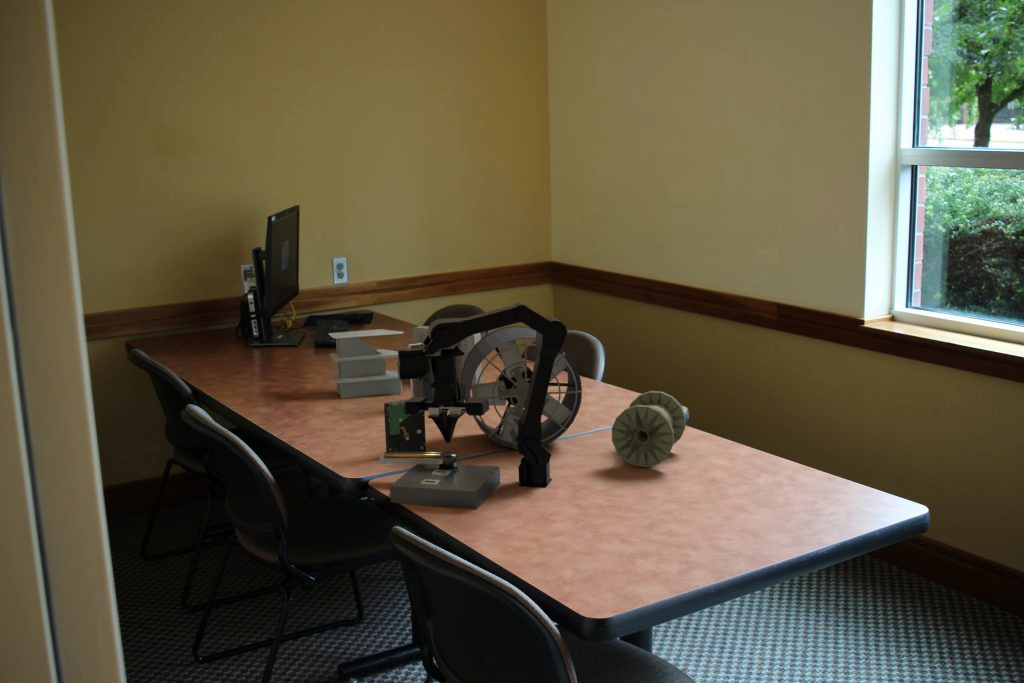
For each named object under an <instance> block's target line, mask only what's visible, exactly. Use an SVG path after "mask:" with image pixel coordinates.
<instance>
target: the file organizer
mask: <svg viewBox="0 0 1024 683" xmlns="http://www.w3.org/2000/svg"><path fill="white" fill-rule="evenodd" d="M404 333H405V331H400V330H399V331H398V330H390V329H384V328H383V329H381V328H379V329H368V330H365V329H364V330H355V331H344V332H343V331H341V332H329V333H327V335H329V336H330V337H331V338H333V339H335V346H336V352H335V353H333V352H332V353H329V357H330V359H331V360H332V361H334V362H336V363H337V372H338V373H333V374H330V378H331V379H332V380H333V381H334V382H335V383H336V391H337V394H338V395H339V397H340V398H341V399H349V398H350V399H351V398H358V397H369V396H379V395H402V394H403V385H402V384H403V380H399V377H398V371H396V370H395V371H394V370H387V366H386V365H387V364H386V359H388V358H389V359H390V358H398V350H390V349H383V348H381V349H375V348H374V347H373V346H372V345H370V344H368V343H367V342H365V341H363V340H362V339H360V338H359V337H374V336H385V335H387V336H388V335H402V334H404Z"/></svg>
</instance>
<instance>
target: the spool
mask: <svg viewBox="0 0 1024 683" xmlns="http://www.w3.org/2000/svg"><path fill="white" fill-rule="evenodd" d="M686 417H687V416H686V413H685V411H684V409H683V406H682V404H681V403H680V402H679V401H678V400H677V399H676V398H675V397H674V396H673V395H672V394H671V395H670V394H669V393H666V392H664V391H657V390H649V391H647V392H644V393H641V394H638V396H637V397H636V398H634V399H633V401H632V402H631V403H630V405H629V407H627V408H625V409H624V410H623V411H622V412H621V413H620V414H619V415H618V416H617V417H616V418H615V420H614V422H613V424H612V428H611V441H612V444H613V446H614V448H615V451H616V453H617V454H618V455H619V456H620V457H621V458H622V459H623V460H624V461H625V462H626V463H629V464H631V465H633V466H634V467H643V468H650V467H652V466H656V465H659V464H660V463H661V462H663V461H664V460H665V459H667V458H668V457H669V455H670V453H671V451H672V449H673V446H674V445H675V444H676V443H677V442H678V441H679V440H681V439H682V436H683V434H684V431H685V430H686V422H687V421H686Z"/></svg>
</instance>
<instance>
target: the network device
mask: <svg viewBox="0 0 1024 683" xmlns="http://www.w3.org/2000/svg"><path fill="white" fill-rule="evenodd" d="M429 326H430V325H427V326H426V325H419V326H417V327H416V326H415V327H413V328H412V330H411V344H417V343H423V342H424V340H425V339H426V337H427V335H428V327H429ZM481 339H482V335H481V333H478V334H474V335H471V336H469V337H467V338H466V339H464V340H462V341H461V346H462V351H463V352H464V353H465V354H464V355H463V356H462V369H463V365H464V362H465V360H466V358H467V356H468V354H469V352H470V351H471V350H472V348H473V347H474V346H475V344H476V343H477V342H479V341H480V340H481ZM482 370H483V361H482V362H481V363H480V365H479V366H478V368H477V370H476V372H475V374H474V376H473V380H472V383H471V388H472V385H475V384H477V381H478V378H479V376H480V374H481V372H482ZM482 383H483V375H482V376H481V378H480V380H479V384H482Z"/></svg>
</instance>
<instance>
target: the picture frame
mask: <svg viewBox="0 0 1024 683" xmlns="http://www.w3.org/2000/svg"><path fill="white" fill-rule="evenodd" d="M421 345H422V343H417V344H412V343H410V344H408V345H407V346H408V349H419V348H420V346H421ZM453 346H454V345H452V346H450V347H448V348H452V347H453ZM457 346H458V347H459V348H460V349H461V350H462V346H461V342H459V343H457ZM441 349H445V348H441ZM437 352H439V351H437ZM437 352H436V353H437ZM428 363H429V373H427V375H425V376H424V378H417V379H409V381H410V399H411V398H412V397H426V398H427V399H428V402H432V400H433V389H432V388H431V384H430V383H431V382H432V373H431V358H429V359H428ZM456 366H457V378H459V383H460V384H461V373H462V356H456ZM459 402H465V400H459ZM439 406H440V405H439ZM441 406H442V405H441ZM425 412H429V410H425Z"/></svg>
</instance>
